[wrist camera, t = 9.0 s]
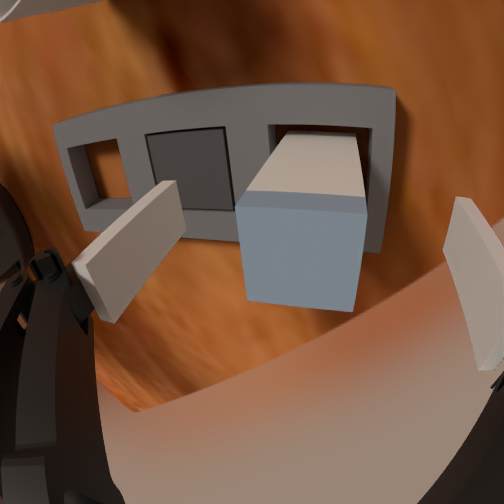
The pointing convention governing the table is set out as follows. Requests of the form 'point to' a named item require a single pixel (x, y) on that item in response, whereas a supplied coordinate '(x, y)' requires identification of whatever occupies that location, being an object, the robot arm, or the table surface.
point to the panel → (221, 148)
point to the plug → (305, 223)
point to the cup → (35, 7)
